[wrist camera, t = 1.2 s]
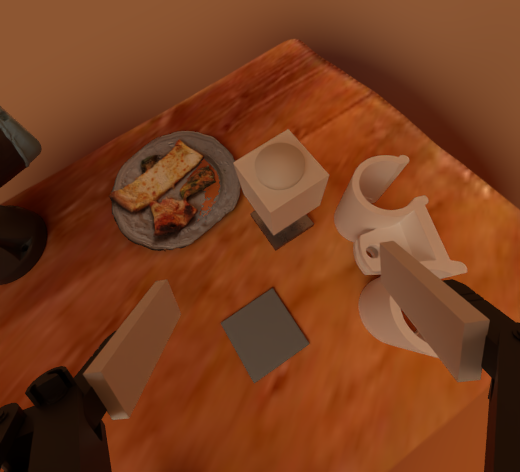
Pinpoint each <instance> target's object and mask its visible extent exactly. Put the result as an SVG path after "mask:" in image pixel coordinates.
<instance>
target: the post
mask: <svg viewBox="0 0 520 472" xmlns="http://www.w3.org/2000/svg"><path fill="white" fill-rule="evenodd" d="M251 216H252V218H253V219H254V221H255V222H256V224H257V225H258V226H259V228H260V229H261V231H262V232H263V233H264V235H265V236H266V238H267V239H268V241H269V242H270V243H271V245H272V246H273V248H274V249H275V251H276V250H277V249H279V248H280V247H282V246H283V245H285V244H286V243H288V242H290V241H291V240H293V239H294V238H296V237H297V236H299V235H300V234H302V233H303V232H305V231H306V230H308V229H309V228H311V227H312V226H313V225H314V223H313V222H312V221H311V220H310V218H309V217H308V216H307V215H304V216H303V217H301V218H300V219H298V220H296V221H295V222H293V223H292V224H290V225H289V226H287V227H286V228H284V229H283V230H281V231H280V232H278V233H277V234H275V235H274V236H273V234H272V233H271V231H270V230H269V229H268V227H267V226H266V224H265V223H264V222H263V220H262V219H261V217H260V216H259V215H258V213H257V212H256V211H254V212H252V213H251Z"/></svg>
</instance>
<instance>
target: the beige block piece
mask: <svg viewBox="0 0 520 472" xmlns="http://www.w3.org/2000/svg"><path fill="white" fill-rule="evenodd" d="M233 164H234V167H235V170H236V173H237V176H238V179H239V182H240V185H241V188H242V191H243V193H244V195H245V197H246V198H247V199H248V201H249V202H250V204H251V205H252V206H253V208H254V209H255V211H256V212H257V213H258V215H259V216H260V217H261V219H262V220H263V222H264V223H265V224H266V226H267V227H268V229H269V230H270V231H271V233H272V234H273V236H274V235H275V234H277V233H278V232H280V231H281V230H283V229H284V228H286V227H287V226H289V225H290V224H292V223H293V222H295V221H296V220H298V219H300V218H301V217H303V216H304V215H306V214H307V213H309V212H310V211H312V210H313V209H315V208H316V207H318V206H319V205H320V203H321V200H322V197H323V193H324V190H325V187H326V184H327V181H328V178H329V174H328V173H327V172H326V171H325V170H324V168H323V167H322V166H321V165H320V164H319V163H318V162H317V161H316V159H315V158H314V157H313V156H312V155H311V154H310V153H309V152H308V151H307V149H306V148H305V147H304V146H303V145H302V144H301V143H300V142H299V140H298V139H297V138H296V137H295V136H294V135H293V134H292V133H291V132H290V130H289V129H287V130H286V131H284V132H282V133H281V134H279V135H277V136H276V137H274V138H273V139H271V140H269V141H268V142H266V143H264V144H263V145H261V146H260V147H258V148H256V149H255V150H253V151H251V152H250V153H248V154H246V155H245V156H243V157H242V158H240V159H238V160H237V161H235V162H233Z"/></svg>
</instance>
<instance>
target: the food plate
mask: <svg viewBox="0 0 520 472" xmlns="http://www.w3.org/2000/svg"><path fill="white" fill-rule="evenodd" d="M158 138H159V137H158ZM154 140H155V141H154ZM154 140H153V141H151V142H152V143H151V142H150V143H151V144H150V143H148V144H147V145H146V146H144V147H143V148H142V149H141V150H139V151H138V152H137V153H136V154H135V155H133V156H132V158H131V159H129V160H128V162H125V164H124V165H123V166H122V168H121V169H120V171H119V173H118V175H117V177H116V180H115V184H114V187H113V191H112V192H111V195H109V197H110V199H111V201H112V214H113V215H114V219H115V222H117V224H118V227H119V229H120V231H121V232H122V233H123V234H124V236H125V237H127V238H128V240H130V241H132V242H134V243H135V244H138V245H142V246H144V247H147V248H149V249H151V250H158V251H161V250H163V249H166V250H167V249H169V250H173V249H174V248H177V247H179V248H183V247H185V246H188V245H189V244H191V243H193V241H194V240H196V239H198V238H199V237H200V236H201V235H202V234H204V233H205V232H206V231H208V230H209V229H210V228H212V226H213V225H214V224H216V223H217V222H218V221H220V220H221V219H222V218H223V217H224V216H225V214H227V213H229V212H230V210H231V211H232V210H233V209H234V207H235V205H236V204H237V201H238V199H239V195H240V188H241V186H240V182H239V179H238V176H237V173H236V170H235V167H234V164H233V162H235V160H234V158H233V156H232V155H231V154H230V151H228V150H227V149H226V148H225V147H224V146H223V145H222V144H221V143H220V142H219V141H217V140H216V139H215V138H214V137H212V136H209V135H205V134H202V133H199V132H193V131H180V132H174V133H171V134H168V135H164V136H162V137H160V138H159V139H158V140H157V138H156V139H154ZM203 158H204V159H205V160H206V161H207V162H208V163H209V164H210V165H211V166H212V167H213V168H214V169H215V170H216V171H217V174H218V176H219V180H220V182H219V184H220V189H219V191H218V192H219V195H217V196H216V198H215V199H214V201H216V203H215V204H213V206H212V207H211V208H210V209H211V211H210V212H209V213H208V215H205V216H204V217H203V215H204V214H205V213H206V214H207V211H209V210H210V209H209V210H207V211H202V210H201V208H202V207H204V205H202V203H204V201H205V200H207V199H205V198H204V197H205V195H204V193H205V192H206V191H203V190H204V189H205V188H206V187H208V186H210V185H211V184H213V183H215V182H216V181H214V178H213V177H214V173H213V172H212V170H210V169H209V166H207V167H204V168H201V169H199V170H198V171H197V172H196V173H195V174H193V175H192V176H191V177H189V176H190V175H191V173H192V172H193V171H194V170H196V168H197V167H198V166H199V164H200V163H202V162H201V161H202V160H203ZM192 170H193V171H192ZM188 177H189V179H188V180H187V179H186V178H188ZM208 190H209V189H208ZM174 192H175V193H174ZM208 192H209V191H208ZM207 198H208V197H207ZM208 200H210V198H208ZM200 205H201V207H200ZM208 208H209V207H208ZM200 211H202V212H201V213H202V214H201V215H199V214H200ZM203 212H205V213H203ZM198 219H200V220H199V221H198ZM197 221H198V222H197ZM205 221H206V222H205ZM166 250H164V251H166Z"/></svg>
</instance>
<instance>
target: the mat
mask: <svg viewBox="0 0 520 472" xmlns="http://www.w3.org/2000/svg"><path fill="white" fill-rule="evenodd" d="M221 325H222V326H223V328H224V330H225V332H226V334H227V335H228V337H229V339H230V341H231V343H232V344H233V346H234V348H235V350H236V352H237V353H238V355H239V357H240V359H241V361H242V362H243V364H244V366H245V368H246V370H247V371H248V373H249V375H250V377H251V379H252V380H253V382H254V383H255V382H257V381H258V380H260V379H261V378H262V377H264V376H265V375H267V374H268V373H269V372H271V371H272V370H274V369H275V368H276V367H278V366H279V365H281V364H282V363H283V362H285V361H286V360H288V359H289V358H290V357H292V356H293V355H295V354H296V353H297V352H299V351H300V350H302V349H303V348H304V347H306V346H307V345H309V342H308V341H307V339H306V338H305V336H304V335H303V333H302V332H301V330H300V329H299V327H298V326H297V324H296V323H295V321H294V320H293V318H292V317H291V315H290V314H289V312H288V311H287V309H286V308H285V306H284V305H283V303H282V302H281V300H280V299H279V297H278V296H277V294H276V292H275V291H274V289H273V288H272V289H270V290H269V291H267V292H266V293H264V294H263V295H261V296H260V297H258V298H257V299H255V300H254V301H252V302H251V303H250V304H248V305H247V306H245V307H244V308H242V309H241V310H239V311H238V312H236V313H235V314H233V315H232V316H230V317H229V318H227V319H226V320H225V321H223V322H222V323H221Z"/></svg>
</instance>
